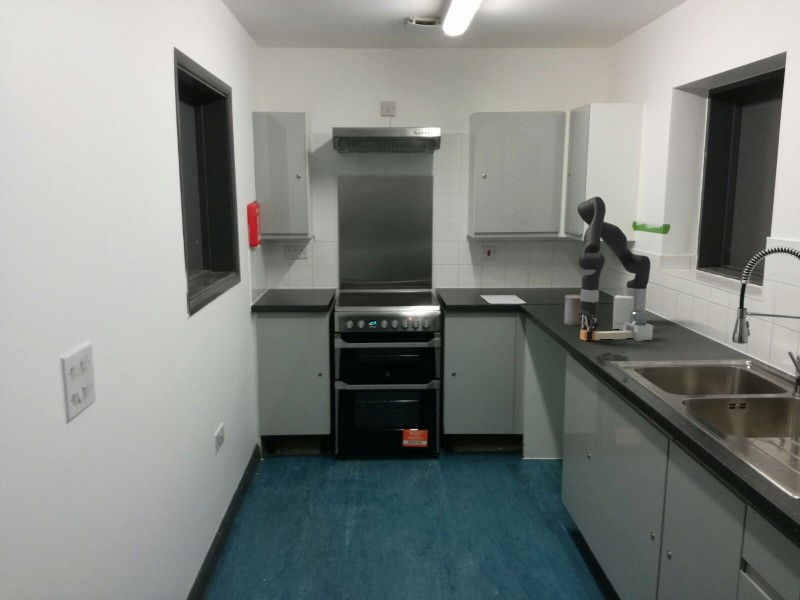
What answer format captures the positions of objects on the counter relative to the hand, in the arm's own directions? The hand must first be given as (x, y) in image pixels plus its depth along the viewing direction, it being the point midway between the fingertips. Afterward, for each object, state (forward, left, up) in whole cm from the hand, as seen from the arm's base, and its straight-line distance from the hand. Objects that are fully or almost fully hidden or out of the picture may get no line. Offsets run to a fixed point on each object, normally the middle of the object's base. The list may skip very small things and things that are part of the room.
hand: (587, 338), depth 259 cm
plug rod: (0, +9, -1) cm, 9 cm away
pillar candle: (-32, +9, -1) cm, 33 cm away
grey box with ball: (0, +24, -1) cm, 24 cm away
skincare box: (-17, +26, -1) cm, 31 cm away
